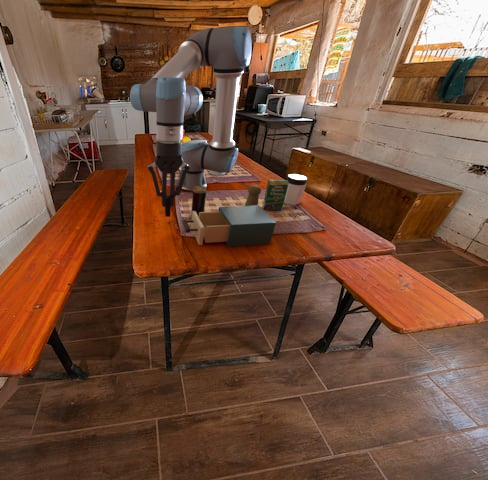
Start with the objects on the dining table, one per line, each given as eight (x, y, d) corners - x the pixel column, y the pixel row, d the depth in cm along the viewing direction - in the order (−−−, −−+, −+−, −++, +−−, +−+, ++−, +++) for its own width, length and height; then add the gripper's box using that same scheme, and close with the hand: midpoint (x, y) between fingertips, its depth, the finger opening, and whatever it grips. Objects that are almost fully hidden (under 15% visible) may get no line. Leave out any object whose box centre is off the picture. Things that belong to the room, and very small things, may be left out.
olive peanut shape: (255, 214, 109) (260, 190, 103) (241, 210, 112) (246, 186, 106) (259, 209, 114) (264, 185, 108) (245, 205, 116) (250, 182, 110)
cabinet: (227, 246, 88) (231, 224, 83) (216, 227, 99) (218, 206, 95) (270, 243, 90) (276, 222, 85) (253, 225, 101) (258, 205, 97)
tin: (189, 214, 108) (191, 186, 101) (201, 213, 109) (204, 185, 102) (192, 220, 104) (194, 191, 97) (205, 219, 104) (208, 190, 98)
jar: (292, 206, 117) (300, 181, 110) (277, 200, 122) (283, 176, 116) (303, 202, 121) (311, 177, 114) (288, 196, 127) (295, 172, 120)
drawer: (186, 246, 86) (187, 228, 83) (180, 227, 96) (181, 211, 93) (239, 242, 89) (242, 225, 85) (227, 225, 99) (230, 209, 95)
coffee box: (262, 209, 113) (269, 181, 106) (261, 206, 116) (268, 178, 109) (281, 211, 112) (289, 182, 105) (280, 208, 115) (288, 180, 108)
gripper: (147, 143, 69) (148, 221, 82) (194, 143, 71) (188, 219, 83) (145, 138, 75) (147, 210, 88) (188, 138, 77) (184, 209, 90)
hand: (167, 214), depth 86 cm, fingers closed
